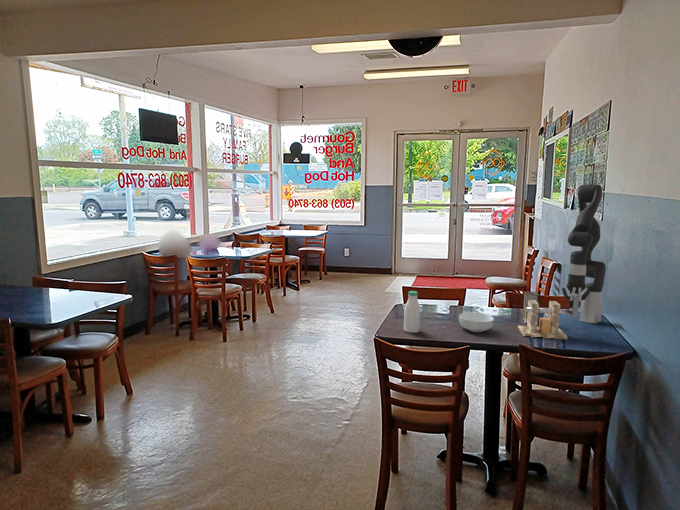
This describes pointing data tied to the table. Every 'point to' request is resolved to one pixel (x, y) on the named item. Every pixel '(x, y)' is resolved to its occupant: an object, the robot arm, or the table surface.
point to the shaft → (571, 311)
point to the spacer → (545, 325)
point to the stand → (533, 318)
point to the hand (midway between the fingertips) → (574, 307)
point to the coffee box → (527, 297)
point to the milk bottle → (412, 313)
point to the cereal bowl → (476, 321)
